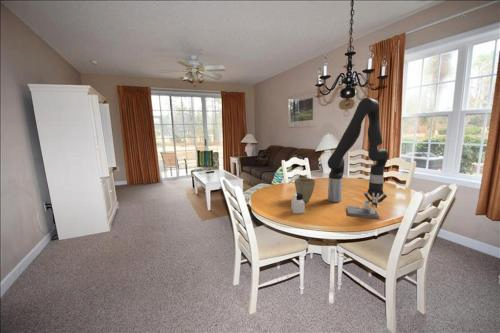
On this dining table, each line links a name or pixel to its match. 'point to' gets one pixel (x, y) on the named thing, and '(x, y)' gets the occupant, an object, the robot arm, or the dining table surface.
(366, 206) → the block
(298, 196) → the medicine bottle
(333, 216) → the dining table surface
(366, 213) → the console
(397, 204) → the dining table surface
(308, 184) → the plant pot
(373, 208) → the fader
